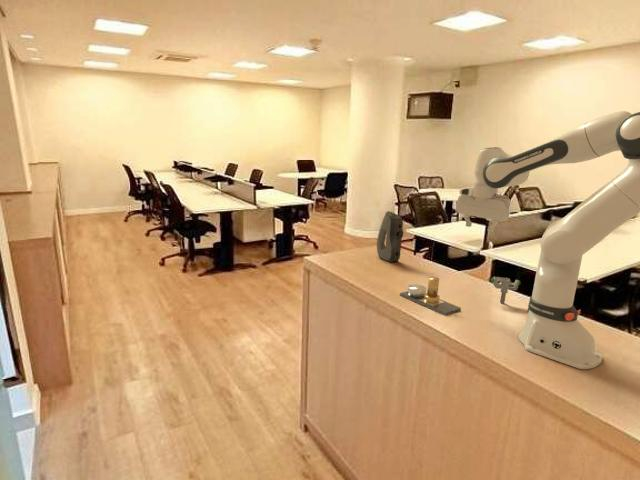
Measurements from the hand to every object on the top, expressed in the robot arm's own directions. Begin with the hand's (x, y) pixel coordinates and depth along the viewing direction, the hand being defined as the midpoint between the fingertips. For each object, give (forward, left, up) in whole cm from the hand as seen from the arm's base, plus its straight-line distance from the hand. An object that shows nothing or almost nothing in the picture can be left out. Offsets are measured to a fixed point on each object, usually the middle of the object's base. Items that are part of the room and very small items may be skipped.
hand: (479, 228), depth 155 cm
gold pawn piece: (+6, +16, -28) cm, 33 cm away
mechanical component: (-8, -10, -29) cm, 32 cm away
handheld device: (+57, -11, -29) cm, 65 cm away
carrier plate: (+7, +16, -29) cm, 34 cm away
